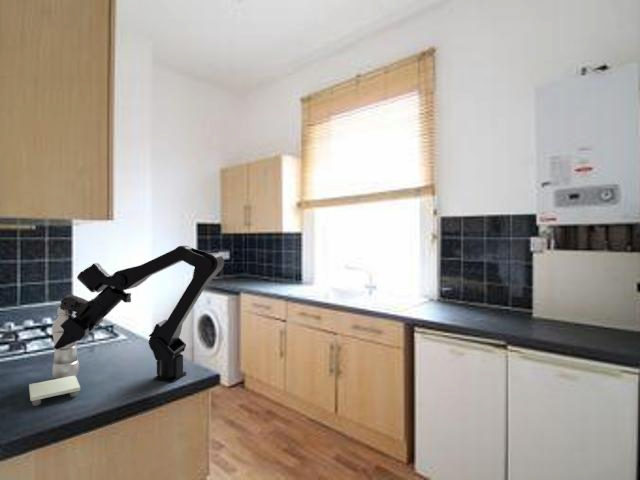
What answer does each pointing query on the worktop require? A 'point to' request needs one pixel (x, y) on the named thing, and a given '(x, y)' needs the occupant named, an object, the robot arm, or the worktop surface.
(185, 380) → the worktop surface
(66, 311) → the plastic bottle
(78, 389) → the plate
